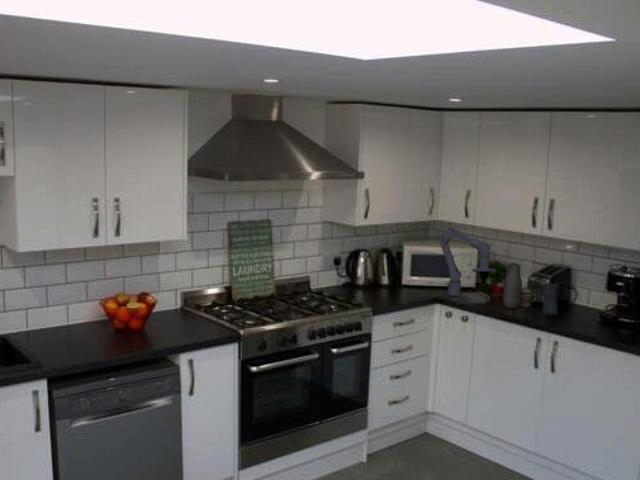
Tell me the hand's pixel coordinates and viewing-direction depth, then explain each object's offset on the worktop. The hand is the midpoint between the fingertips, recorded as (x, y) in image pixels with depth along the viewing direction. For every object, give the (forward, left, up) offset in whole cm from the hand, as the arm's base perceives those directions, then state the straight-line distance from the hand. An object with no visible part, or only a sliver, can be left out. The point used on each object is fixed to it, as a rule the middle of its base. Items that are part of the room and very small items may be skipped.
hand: (483, 283), depth 431 cm
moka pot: (+42, +26, -10) cm, 50 cm away
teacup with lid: (+22, +20, -10) cm, 31 cm away
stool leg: (+5, -1, -9) cm, 10 cm away
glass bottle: (+30, +7, -10) cm, 32 cm away
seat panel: (+7, -8, -9) cm, 14 cm away
